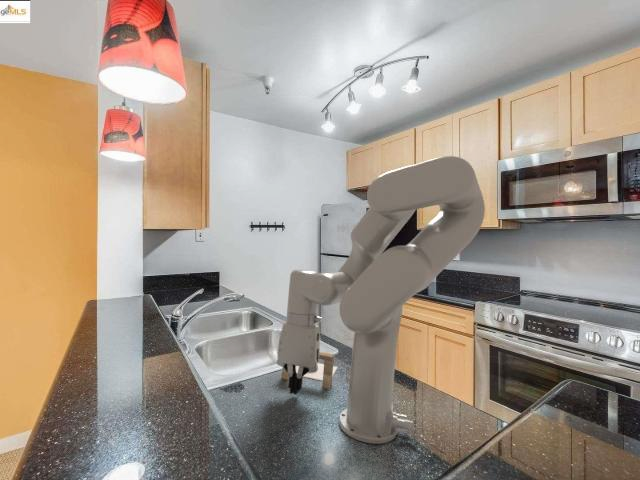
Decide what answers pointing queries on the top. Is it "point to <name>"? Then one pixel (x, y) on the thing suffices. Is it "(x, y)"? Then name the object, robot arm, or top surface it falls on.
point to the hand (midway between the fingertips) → (294, 391)
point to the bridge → (327, 371)
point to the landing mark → (317, 372)
